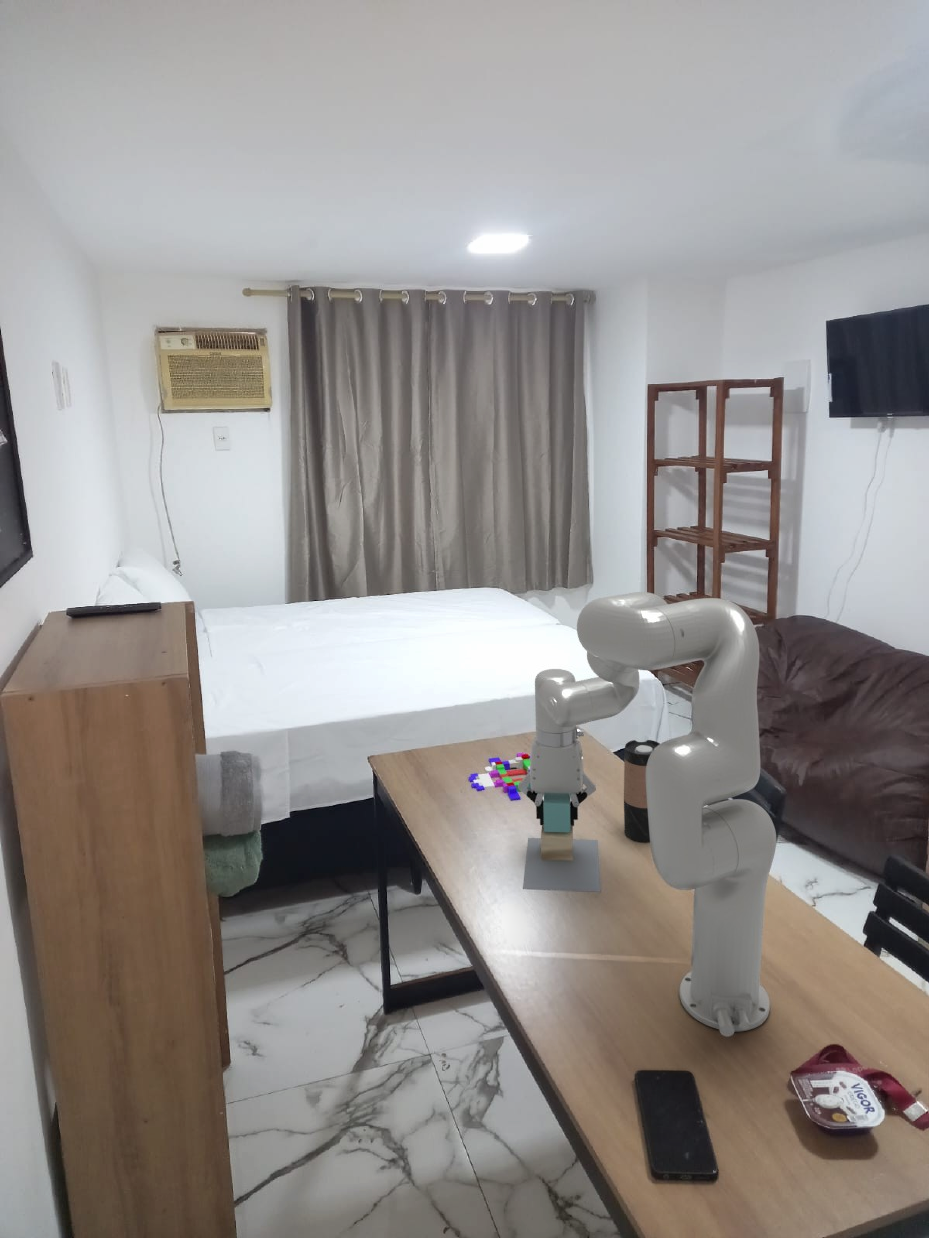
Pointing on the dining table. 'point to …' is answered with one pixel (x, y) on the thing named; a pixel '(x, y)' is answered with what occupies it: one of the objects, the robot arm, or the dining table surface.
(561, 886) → the build board
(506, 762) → the building block set
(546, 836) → the beech block
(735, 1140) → the dining table surface
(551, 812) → the teal block
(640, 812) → the travel mug
